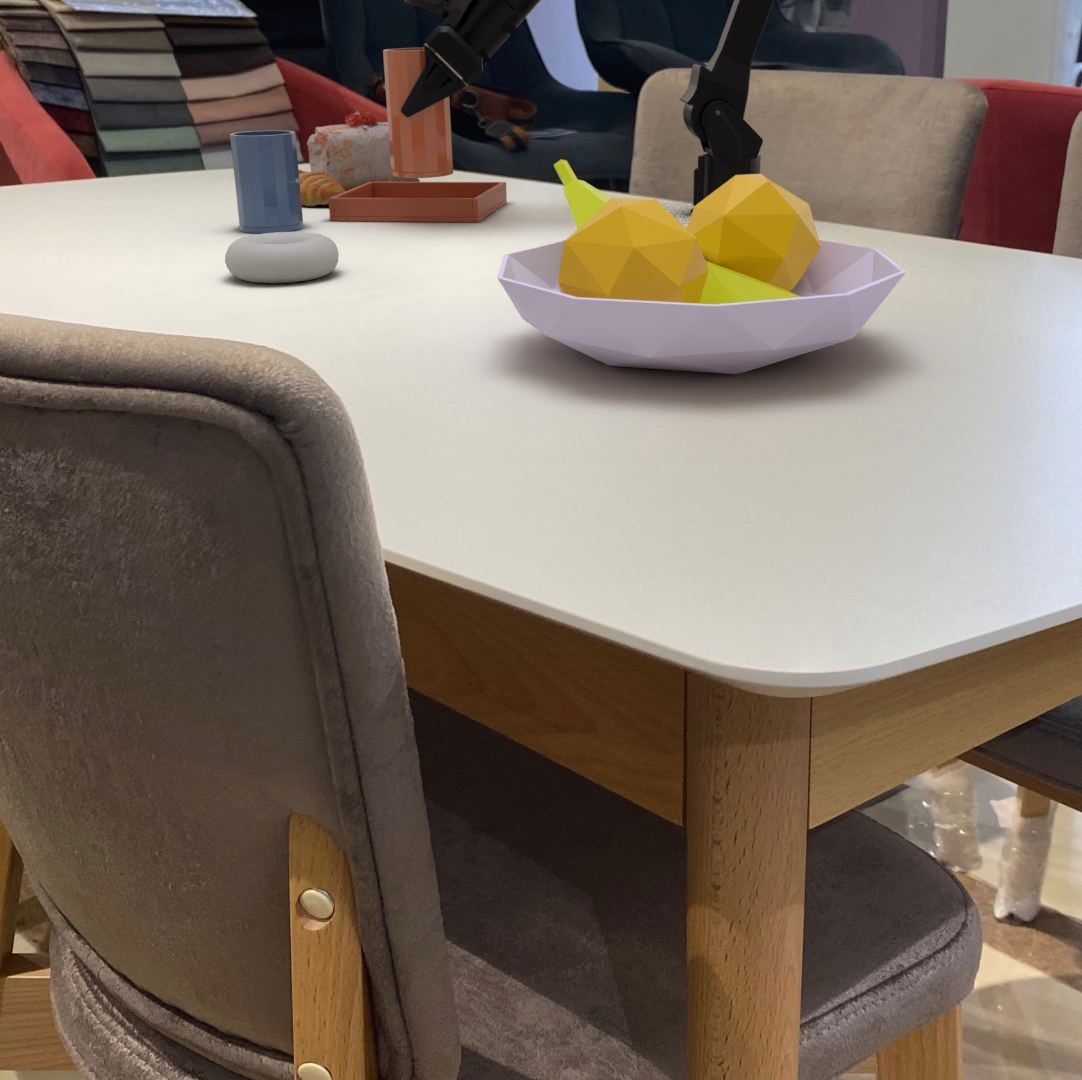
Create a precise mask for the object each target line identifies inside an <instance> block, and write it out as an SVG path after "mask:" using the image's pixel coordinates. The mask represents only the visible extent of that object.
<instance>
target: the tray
mask: <svg viewBox="0 0 1082 1080" xmlns="http://www.w3.org/2000/svg"><path fill="white" fill-rule="evenodd" d="M507 198H508V197H507V182H506V181H420V182H368V183H365V184H363V185H360V186H358V187H355V188H353V189H350V190H348V191H345V192H343V193H341V194H338V195H336V196H333V197H331V198H329V199H328V200H329V203H328V211H329V221H330V222H405V223H407V222H409V223H410V222H411V223H416V222H418V223H419V222H421V223H423V222H424V223H426V222H427V223H479V222H480V221H482V220H484V219H485V218H487V217H488V216H489V215H491V214H492V213H494V212H495V211H497V210H498V209H500V208H501V207H503V206H504V205H506V204H507V203H508V199H507Z"/></svg>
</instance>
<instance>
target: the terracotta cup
mask: <svg viewBox="0 0 1082 1080" xmlns="http://www.w3.org/2000/svg"><path fill="white" fill-rule="evenodd" d="M431 49H432V50H433V51H434V52H435V53H437V52H436V51H435V50H434V49H433V48H431ZM382 52H383V53H382V55H383V69H384V84H385V85H384V86H385V99H386V100H385V101H386V112H387V113H386V115H387V122H388V131H389V146H390V160H391V170H392V176H394V177H400V178H418V179H431V178H442V177H446V176H451V175H453V174H454V155H453V154H454V153H453V134H452V133H453V132H452V114H451V113H452V112H451V96H449V97H447V98H445V99H443V100H441V101H439V102H437V103H435V104H433V105H431V106H429V107H427V108H425V109H424V110H422V111H420V112H418V113H416V114H414V115H412V116H410V117H406V116H405V115H404V114H403V113H402V112H401V108H402V106H403V104H404V103H405V101H406V99H407V97H408V96H409V94H410V92H411V90H412V89H413V87H414V85H415V83H416V82H417V80H418V78H419V76H420V75H421V73H422V71H423V69H424V67H425V56H424V47H402V48H401V47H400V48H399V47H398V48H387V49H383V50H382Z"/></svg>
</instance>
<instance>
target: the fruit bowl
mask: <svg viewBox="0 0 1082 1080" xmlns="http://www.w3.org/2000/svg"><path fill="white" fill-rule="evenodd" d="M553 167H554V170H555V172H556V174H557V175H558V177H559V179H560V181H561V183H562V184H563V188H562V190H563V193H564V197H565V199H566V202H567V205H568V208H569V210H570V212H571V215H572V218H573V220H574V223H575V226H576V228H577V229H576V230H575V231H574V232H572V234H571V235H569V236H568V237H567V238H566V239H564V240H560V241H556V242H552V243H548V244H544V245H540V246H535V247H531V248H527V249H523V250H519V251H515V252H514V251H513V252H510V253H506V254H503V257H502V261H501V263H500V268H499V270H498V273H497V274H498V275H497V280H498V282H499V284H500V285H501V287H502V288H503V290H504V291H505V293H506V294H507V297H509V299H510V301H511V302H512V304H513V306H514V307H515V309H516V311H517V313H518V314H519V316H520V317H521V319H522V320H523V321H525V322H526V323H527V324H529V325H531V327H533V328H534V329H536V330H538V331H539V332H540V333H541V334H543V335H544V336H546V337H549V338H551V339H552V340H555V341H557V342H558V343H561V344H563V345H565V346H567V347H570V348H572V349H574V350H575V351H578V352H579V353H582V354H584V355H586V356H588V357H590V358H592V359H595V360H597V361H598V362H601V363H602V364H604V365H607V366H610V367H621V368H622V367H623V368H635V369H652V370H666V371H681V372H694V373H707V374H708V373H709V374H722V375H723V374H724V375H736V376H737V375H740V374H744V373H747V372H750V371H753V370H756V369H760V368H762V367H766V366H768V365H773V364H775V363H778V362H779V363H780V362H782V361H785V360H788V359H792V358H795V357H798V356H801V355H805V354H808V353H812V352H814V351H817V350H821V349H824V348H827V347H830V346H833V345H834V346H835V345H836V344H841V343H843V342H846V341H850V340H853V339H854V338H855V337H856V336H857V334H859V332H860V331H861V330H862V329H863V327H864V326H865V325H866V323H867V322H868V321H869V319H870V318H871V317H872V316H873V315H874V314H875V312H876V311H877V310H878V308H879V307H880V306H881V304H882V303H883V302H884V301H885V300H886V298H887V297H888V296H889V294H890V293H891V292H892V291H893V289H895V287H896V286H897V285H898V284H899V282H900V281H901V280H902V278H903V277H904V276H905V275H906V273H907V271H906V270H904V269H903V268H902V267H901V266H899V265H898V264H897V263H896V262H895V261H893V260H892V259H891V258H890V257H888V256H887V255H886V254H885V253H883V252H882V251H881V250H880V249H878V248H873V247H867V246H863V245H862V246H861V245H856V244H849V243H843V242H837V241H831V240H827V239H821V238H819V235H818V231H817V228H816V224H815V220H814V216H813V213H812V210H811V206H810V203H808V202H807V201H805V200H804V199H802V198H801V197H799V196H797V195H795V194H794V193H792V192H790V191H789V190H787V189H786V188H784V187H783V186H781V185H779V184H778V183H776V182H774V181H773V180H772V179H769V178H768V177H767V176H765V175H763V174H762V173H760V174H746V175H735V176H734V177H732V178H731V179H730V180H728V181H727V182H726V183H724V184H723V185H722V186H720V187H719V188H718V189H716V190H715V191H714V192H713V193H711V194H710V195H709V196H707V197H706V198H705V199H703V200H702V201H701V202H699V203H698V204H697V205H695V206H694V205H693V208H694V209H693V212H692V213H691V215H690V217H689V220H688V224H687V227H686V226H684V224H682V222H681V221H679V220H678V219H677V218H676V217H675V216H674V215H673V214H672V213H671V212H670V211H668V210H667V209H666V208H665V206H663V204H662V203H660V202H659V201H658V200H657V199H655V198H635V197H634V198H633V197H611V196H609V195H607V194H606V193H605V192H603V191H601V190H600V189H597V188H596V187H595V186H593V185H591V184H590V183H588V182H587V181H585V180H582V179H578V177H577V176H576V174H575V173H574V171H573V169H572V168H571V165H570V163H569V162H568V160H567V159H561V158H560V159H559V160H558V161H557V162H555V163H554V164H553Z"/></svg>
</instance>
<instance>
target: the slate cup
mask: <svg viewBox="0 0 1082 1080" xmlns="http://www.w3.org/2000/svg"><path fill="white" fill-rule="evenodd" d="M229 139H230V149H231V158H232V167H233V169H232V170H233V178H234V188H235V196H236V205H237V206H236V207H237V216H238V224H239V231H241V232H242V233H248V234H264V233H275V232H295V231H299V230H301V229H302V228H304V216H303V205H302V204H301V192H300V181H299V170H300V169H299V159H298V147H297V135H296V132H295V131H294V130H283V129H281V130H279V129H275V130H272V129H271V130H270V129H267V130H250V131H249V130H248V131H239V132H231V133H230V134H229Z"/></svg>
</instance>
